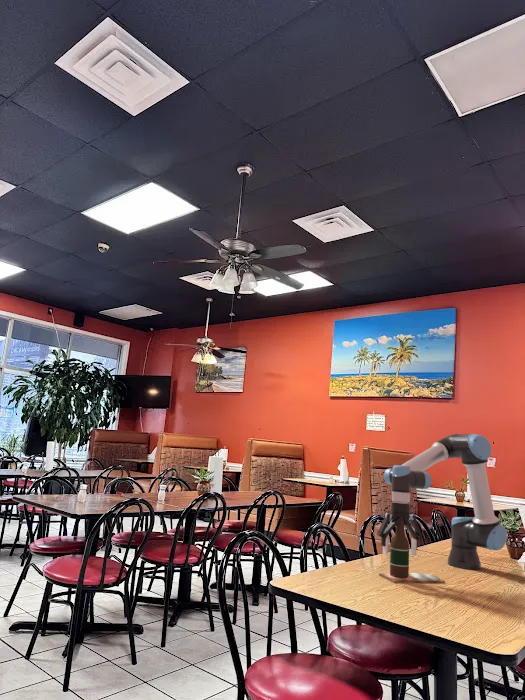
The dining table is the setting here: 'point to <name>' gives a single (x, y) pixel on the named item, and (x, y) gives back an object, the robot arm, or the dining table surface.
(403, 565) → the beer bottle
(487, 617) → the dining table surface
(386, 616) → the dining table surface
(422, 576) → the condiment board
